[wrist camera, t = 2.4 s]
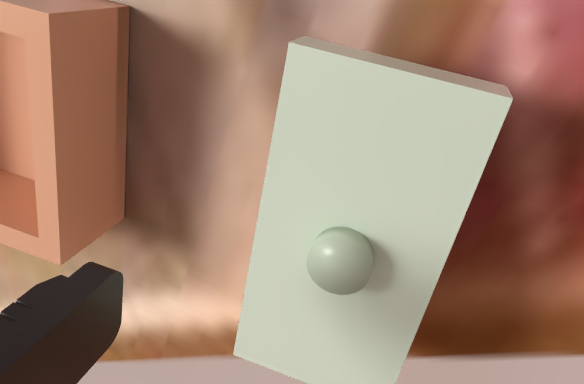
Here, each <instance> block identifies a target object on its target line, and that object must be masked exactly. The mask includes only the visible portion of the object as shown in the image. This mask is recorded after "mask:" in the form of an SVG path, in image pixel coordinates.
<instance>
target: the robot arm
mask: <svg viewBox="0 0 584 384" xmlns="http://www.w3.org/2000/svg"><path fill="white" fill-rule="evenodd" d="M122 296H123V275H122V273H121V272H119V271H116V270H113V269H110V268H108V267H105V266H102V265H100V264H97V263H94V262H88V263H86V264H85V265H83V266H82V267H81V268H80V269H78V270H77V271H76V272H75V273H73V274H72V275H71V276H70V277H65V276H63V275H59V276H57V277H54V278H52V279H49V280H47V281H44V282H42V283H39V284H37V285H35V286H34V287H33V288H31V289H30V290H29V291H28V292H26V293H25V294H24V295H22V296H21V297H20V298H18V299H17V302H16V303H14V302H13V303H12V304H10V305H9V306H8V307H7V308H5V309H4V310H3V311H1V314H0V384H77V383H78V382H79V380H80V379H81V378H82V377H83V376H84V375H85V374H86V372H88V370H89V369H90V368H91V367H92V366H93V365H94V364H95V363H96V361H97V360H98V359H99V358H100V357H101V356H102V355H103V354H104V352H105V351H106V350H107V349H108V348H109V347H110V346H111V344H112V343H113V341H114V339H115V338H116V336H117V333H118V331H119V328H120V325H121V317H122Z"/></svg>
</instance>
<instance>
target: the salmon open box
mask: <svg viewBox="0 0 584 384" xmlns="http://www.w3.org/2000/svg"><path fill="white" fill-rule="evenodd" d="M129 22H130V6H128V5H124V4H120V3H116V2H112V1H108V0H0V243H2V244H5V245H7V246H10V247H13V248H15V249H18V250H21V251H23V252H26V253H29V254H31V255H34V256H37V257H39V258H42V259H45V260H47V261H50V262H52V263H55V264H58V265H60V266H61V265H62V264H64V263H65V262H66V261H68V260H69V259H70V258H72V257H73V256H74V255H76V254H77V253H78V252H80V251H81V250H82V249H84V248H85V247H86V246H88V245H89V244H90V243H92V242H93V241H94V240H96V239H97V238H98V237H100V236H101V235H102V234H104V233H105V232H106V231H108V230H109V229H110V228H112V227H113V226H115V225H116V224H117V223H119V222H120V221H121V220H123V219H124V209H125V172H126V134H127V97H128V59H129Z"/></svg>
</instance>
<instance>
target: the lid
mask: <svg viewBox="0 0 584 384" xmlns="http://www.w3.org/2000/svg"><path fill="white" fill-rule="evenodd" d="M512 100H513V97H512V95H511V93H510V91H509V90H508V88H507V86H505V85H501V84H497V83H493V82H489V81H485V80H481V79H477V78H473V77H469V76H465V75H461V74H457V73H453V72H449V71H445V70H441V69H437V68H433V67H429V66H425V65H421V64H417V63H413V62H409V61H405V60H401V59H397V58H392V57H388V56H384V55H380V54H376V53H372V52H368V51H364V50H360V49H356V48H352V47H348V46H344V45H340V44H336V43H332V42H328V41H324V40H320V39H316V38H312V37H308V36H303V37H300V38H298V39H295V40H293V41H291V42H289V46H288V51H287V57H286V62H285V68H284V73H283V79H282V85H281V90H280V96H279V101H278V107H277V113H276V118H275V124H274V129H273V135H272V141H271V146H270V152H269V157H268V163H267V168H266V174H265V180H264V185H263V191H262V196H261V202H260V208H259V213H258V219H257V224H256V230H255V235H254V241H253V247H252V252H251V258H250V263H249V269H248V275H247V280H246V286H245V291H244V297H243V302H242V308H241V314H240V319H239V325H238V330H237V336H236V342H235V347H234V353H233V355H235V356H238V357H241V358H243V359H246V360H248V361H251V362H253V363H256V364H259V365H262V366H264V367H266V368H269V369H272V370H274V371H277V372H279V373H282V374H285V375H287V376H290V377H293V378H295V379H298V380H300V381H303V382H305V383H308V384H395V383H396V380H397V378H398V375H399V373H400V370H401V368H402V366H403V363H404V361H405V359H406V356H407V354H408V351H409V349H410V347H411V344H412V342H413V339H414V337H415V334H416V332H417V330H418V327H419V325H420V322H421V320H422V318H423V315H424V313H425V310H426V308H427V306H428V303H429V301H430V298H431V296H432V293H433V291H434V289H435V286H436V284H437V281H438V279H439V277H440V274H441V272H442V269H443V267H444V264H445V262H446V260H447V257H448V255H449V252H450V250H451V248H452V245H453V243H454V240H455V238H456V236H457V233H458V231H459V228H460V226H461V223H462V221H463V219H464V216H465V214H466V211H467V209H468V207H469V204H470V202H471V199H472V197H473V195H474V192H475V190H476V187H477V185H478V182H479V180H480V178H481V175H482V173H483V170H484V168H485V166H486V163H487V161H488V158H489V156H490V154H491V151H492V149H493V146H494V144H495V141H496V139H497V137H498V134H499V132H500V129H501V127H502V125H503V122H504V120H505V117H506V115H507V113H508V110H509V108H510V105H511V103H512Z"/></svg>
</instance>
